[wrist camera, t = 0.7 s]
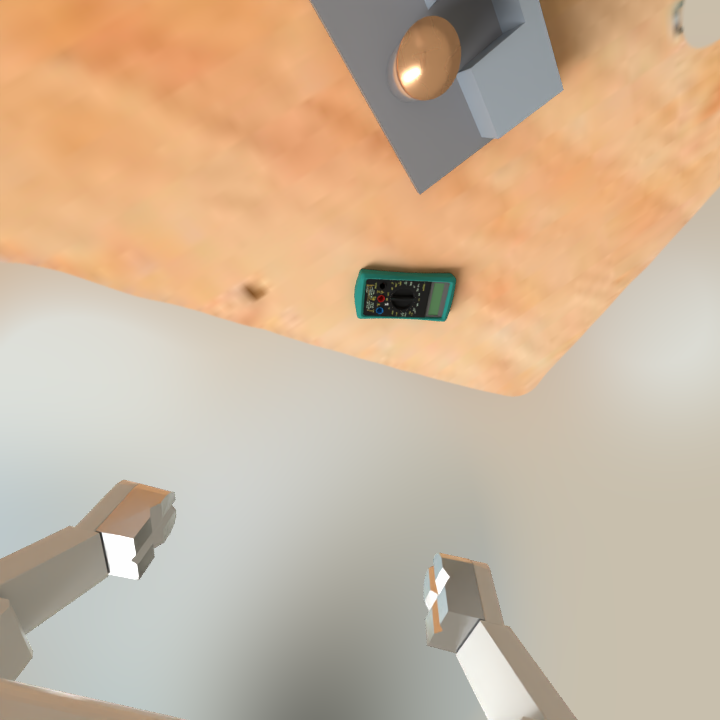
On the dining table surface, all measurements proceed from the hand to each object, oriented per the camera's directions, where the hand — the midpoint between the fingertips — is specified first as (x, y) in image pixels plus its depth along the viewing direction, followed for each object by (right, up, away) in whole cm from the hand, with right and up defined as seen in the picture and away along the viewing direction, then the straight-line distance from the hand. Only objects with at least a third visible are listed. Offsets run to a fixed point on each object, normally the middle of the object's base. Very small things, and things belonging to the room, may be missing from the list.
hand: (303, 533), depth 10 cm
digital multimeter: (+8, +16, +43) cm, 46 cm away
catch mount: (+9, +38, +26) cm, 47 cm away
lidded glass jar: (+7, +36, +26) cm, 45 cm away
